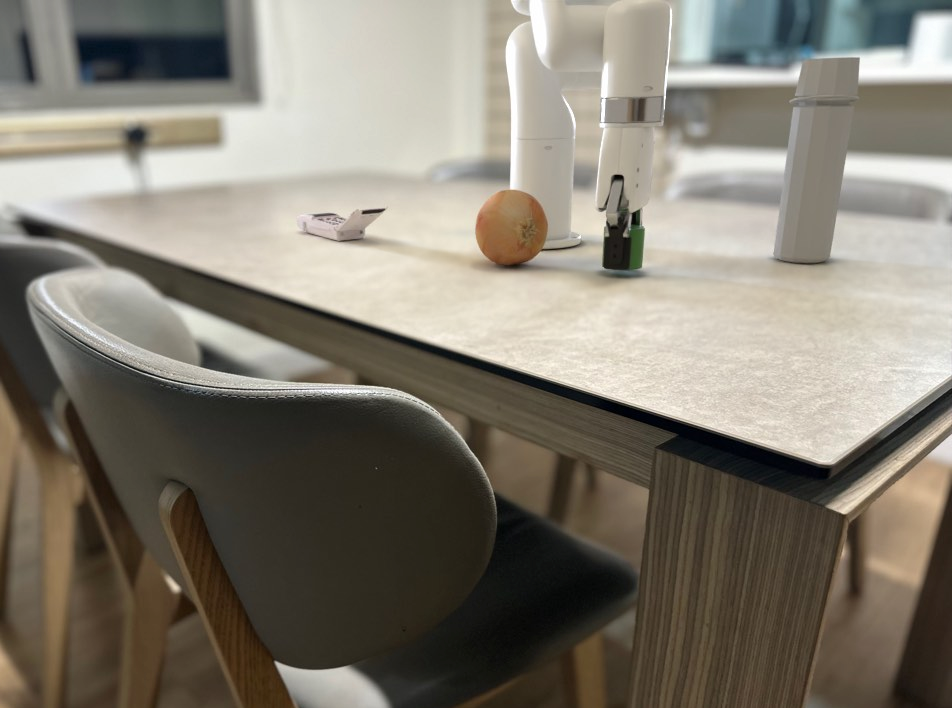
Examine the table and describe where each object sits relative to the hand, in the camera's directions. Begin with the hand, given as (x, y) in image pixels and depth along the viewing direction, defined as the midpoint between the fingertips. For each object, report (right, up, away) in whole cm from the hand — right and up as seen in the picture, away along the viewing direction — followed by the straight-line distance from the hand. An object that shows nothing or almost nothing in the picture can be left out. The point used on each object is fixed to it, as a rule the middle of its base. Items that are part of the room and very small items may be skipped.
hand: (621, 263), depth 103 cm
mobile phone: (-39, +10, +34) cm, 53 cm away
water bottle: (+26, +2, +7) cm, 27 cm away
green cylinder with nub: (0, 0, 0) cm, 0 cm away
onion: (-13, +1, +7) cm, 15 cm away
